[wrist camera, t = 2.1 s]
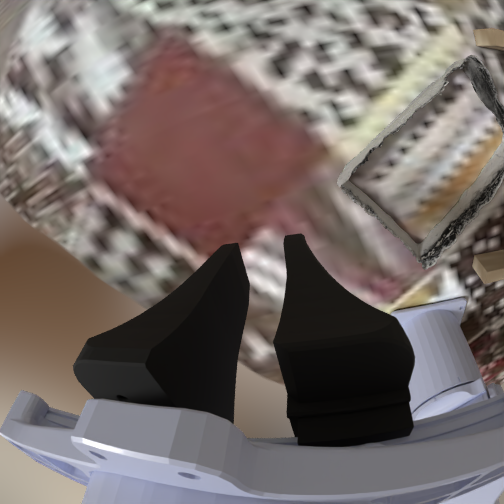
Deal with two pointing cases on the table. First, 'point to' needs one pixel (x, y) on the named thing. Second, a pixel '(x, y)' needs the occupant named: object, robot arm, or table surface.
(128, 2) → the table surface
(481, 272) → the frame
